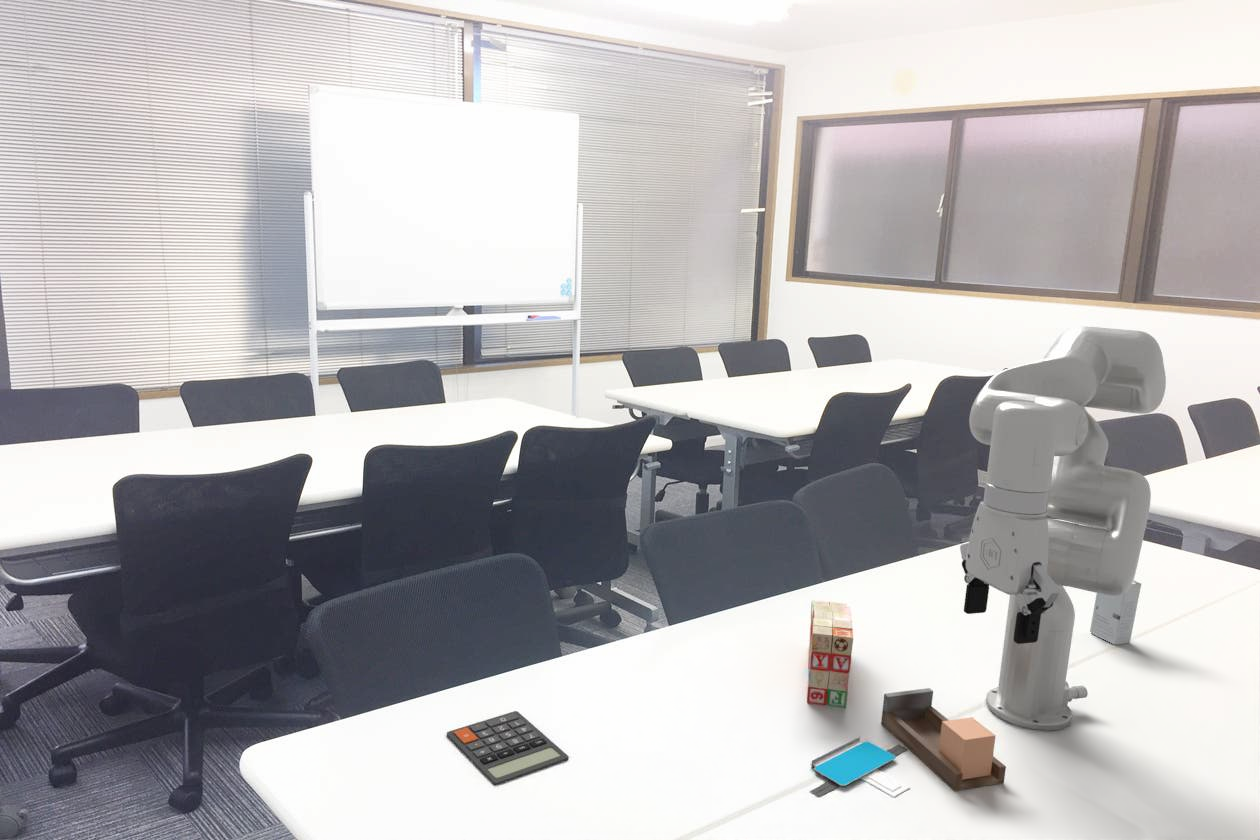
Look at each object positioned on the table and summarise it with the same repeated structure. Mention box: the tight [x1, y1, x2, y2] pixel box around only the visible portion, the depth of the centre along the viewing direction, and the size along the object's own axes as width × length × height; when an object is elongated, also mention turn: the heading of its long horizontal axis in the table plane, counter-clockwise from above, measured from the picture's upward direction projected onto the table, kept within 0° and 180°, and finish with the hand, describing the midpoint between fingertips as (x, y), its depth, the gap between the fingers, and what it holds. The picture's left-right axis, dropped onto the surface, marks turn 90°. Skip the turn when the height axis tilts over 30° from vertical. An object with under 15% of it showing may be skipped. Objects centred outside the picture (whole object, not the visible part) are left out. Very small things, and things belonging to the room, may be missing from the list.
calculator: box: [446, 710, 569, 786], centre depth 132 cm, size 12×1×15 cm
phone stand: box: [809, 736, 911, 798], centre depth 129 cm, size 20×12×2 cm, turn 129°
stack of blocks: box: [806, 599, 854, 709], centre depth 156 cm, size 21×6×12 cm, turn 169°
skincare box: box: [1089, 579, 1142, 645], centre depth 176 cm, size 6×4×12 cm
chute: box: [880, 687, 1007, 792], centre depth 135 cm, size 8×18×5 cm, turn 17°
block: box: [939, 716, 996, 780], centre depth 129 cm, size 5×5×6 cm
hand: (999, 626), depth 121 cm, fingers open, 9 cm apart
